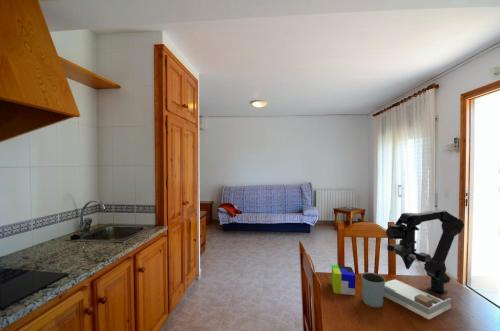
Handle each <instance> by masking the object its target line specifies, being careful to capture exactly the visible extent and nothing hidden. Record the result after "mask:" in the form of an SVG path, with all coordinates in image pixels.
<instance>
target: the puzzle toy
mask: <svg viewBox="0 0 500 331" xmlns="http://www.w3.org/2000/svg"><path fill="white" fill-rule="evenodd" d="M331 287H332V289H333V293H334V294H339V295H340V294H342V295H348V296H349V295H351V296H356V274H355V271H354V269H353V267H352V266H344V265H333V264H332V265H331Z"/></svg>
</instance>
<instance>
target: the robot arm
mask: <svg viewBox="0 0 500 331" xmlns="http://www.w3.org/2000/svg"><path fill="white" fill-rule="evenodd" d="M435 220H438V221H439V222H441V230H442V234H440V238H439V241H438V244H437V246H436V248H435V251H434V253H433V255H432V256H433V257H432V256H431V254H428V253H426V252H419V253H417V252H416V251H417V249H416V244H417V240H416V231H419V230H420V228H419V227H417V226H419V225H421V224H422V223H424V222H429V221H435ZM464 227H465V224H464V221H463V219H460V218H458V217H456V216H454V215H453V214H450V212H448V211H447V210H445V209H444V210H443V209H439V208H438V209H434V210H427V211H424V212H422V211H421V212H416V213H415V212H403V213H401V214H400V217H399V218H398V219H397V221H395V223H394V225H393V224H389V225H388V228H387V229H386V231H385V233H386V236H387V238H388V240H399V243H398V244H396V243H390V244H388V245H387V249H386V250H387V251H390V252H392V253H393V252H394V254H395V255H397V256H400V258H402V259H401V260H402V262H403V264H404V266H405V269H406V270H410V268H411V266H412V264H414V262H415V260H417V261H419V262H421V263H423V266H424V271H425V273H426V275H427V276H429V277H430V286H429V287H427V290H429V291H431V292H434V293H436V294H438V295H441V296H442V295H445V294H446V293H448V290H447V289H446V288H445V284H447V283H450V280H451V277H450V276H449V275H448V274H447V272H446V271H447V266H446V261H447V260H446V259H447V257H448V255H449V252H450V250H451V246H452V244H453V241H454V240H455V237H456V236H457V235H459V234H461V232H462V231H463V229H464Z"/></svg>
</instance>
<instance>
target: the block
mask: <svg viewBox="0 0 500 331" xmlns="http://www.w3.org/2000/svg"><path fill="white" fill-rule="evenodd" d="M414 301H415V302H417V303H419V304H421V305H423V306H425V307H427V308H429V307H431V306H433V299H431V298H429V297H427V296H424V295H422V294H419V295H417V296H415V297H414Z"/></svg>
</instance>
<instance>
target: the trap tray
mask: <svg viewBox="0 0 500 331" xmlns="http://www.w3.org/2000/svg"><path fill="white" fill-rule="evenodd" d="M419 294H422V295H424V296H427V297H429V298H431V299H433V306H431V307H429V308H427V307H425V306H423V305H421V304H419V303H417V302H415V301H414V297H415V296H417V295H419ZM383 297H385V298H386V299H389V300H391V301H393V302H394V303H396V304H399V305H401V306H402V307H404V308H406V309H408V310H410V311H412V312H414V313H415V314H417V315H420V316H422V318H424V319H427V320H431V319H433V318H435V317H437V316H439V315H441V314H443V313H444V312H446V311H448V310H450V309H452V298H451V297H449V298H445V300H443V299H441V298H438V297H436V296H434V295H431V294H430V293H427V292H425V291H422V290H420V289H418V288H416V287H414V286H411V285H410V284H407V283H405V282H403V281H400V280H398V279H391V280H388V281H385V286H384V296H383Z"/></svg>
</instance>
